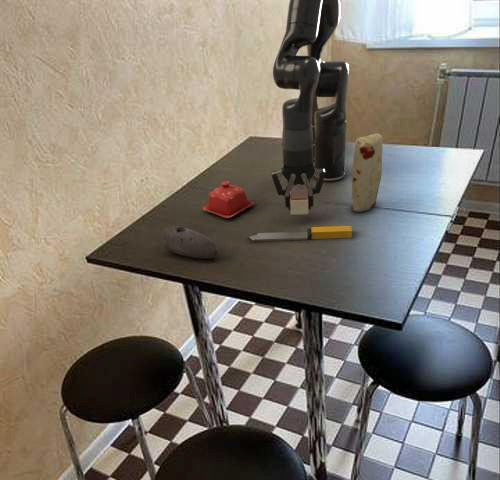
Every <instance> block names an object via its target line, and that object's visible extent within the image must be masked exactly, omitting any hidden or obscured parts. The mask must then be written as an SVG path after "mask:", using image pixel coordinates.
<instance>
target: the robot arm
mask: <svg viewBox="0 0 500 480" xmlns="http://www.w3.org/2000/svg"><path fill="white" fill-rule="evenodd" d="M340 1H341V0H289V3H288V10H287V17H286V26H285V33H284V36H283V38H282V40H281V44H280V47H279V49H278V52H277V55H276V57H275V59H274V63H273V67H272V78H273V82H274V84H275V86H276V87H278V88H279V89H282V90H297V91H299V94H298V97H294V98H291V99H287V100H286V101H284V102H283V104H282V106H281V114H282V117H281V118H282V133H281V140H282V142H281V146H282V160H283V161H282V167H281V170H278V171H277V170H272V172H271V179H272V181H273V185H274V187H275V190H276V192H277V195H278V196H283V197H284V202H285V203H284V206H285V208H286V209H287V210H288V211H291V207H290V192H291V190H293V186H298V185H301V186H304V187H305V190H307V192H308V210H311V208H313V207H314V196H315V195H316V194H317V195H318V194H320V193H321V190H322V189H323V184H324V182H326V183H330V182H331V183H332V182H337V181H341V180H342V179H344V178H345V176H346V172H345V170H346V145H347V144H346V142H347V141H346V140H347V112H348V111H347V108H348V91H349V83H350V82H349V80H350V68H349V64H348V63H347V62H346V61H342V60H337V61H336V60H335V61H334V60H333V61H331V60H330V61H329V60H327V61H323V60H322V59H321V57H322V54H323V51H324V50H325V47H326V46H327V44H328V42H329V40H330V39H331V37H332V36H333V34H334V33H335V31H336V29H337V28H338V25H339V22H340V19H341V2H340ZM303 47H306V52H307V55H297V54H298V52H299V50H300V49H302V48H303ZM314 96H315V97H317V98H334V101H333V102H332V103H330V104H328V105H326V106H325V105H324V106H322V107H320V108H319V109H318V110H317V111H316V112H315V158H313V143H314V141H313V130H312V106H313V101H314ZM282 176H283V177H284V179H286V181H287V182H286V187H285V188H283V186H282V183H281V179H282ZM313 176H314V178H315V179H316V183H315V186H314V187H313V186H312V182H311V179H312V177H313Z"/></svg>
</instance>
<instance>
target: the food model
mask: <svg viewBox="0 0 500 480" xmlns="http://www.w3.org/2000/svg"><path fill="white" fill-rule="evenodd" d="M382 169H383V137H382V135H381V134H380V133H371V134H368V135H366V136H365V135H364V136H359V137H357V138H356V139H355V142H354V152H353V163H352V170H351V201H352V208H353V211H354V212H365V211H369V210H370V209H372V208H373V207H375V206H376V204H377V199H378V193H379V189H380V185H381V181H382Z"/></svg>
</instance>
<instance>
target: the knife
mask: <svg viewBox="0 0 500 480" xmlns="http://www.w3.org/2000/svg"><path fill="white" fill-rule="evenodd" d="M351 238H353V228H352V225H336V226H335V225H334V226H332V225H331V226H311V227H308V228H307V231H281V232H275V231H274V232H257V233H256V234H254V235H251V236H249V240H250V241H251V242H252V243H255V242H257V243H259V242H282V241H285V242H286V241H308V240H321V239H322V240H323V239H324V240H325V239H326V240H327V239H351Z"/></svg>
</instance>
